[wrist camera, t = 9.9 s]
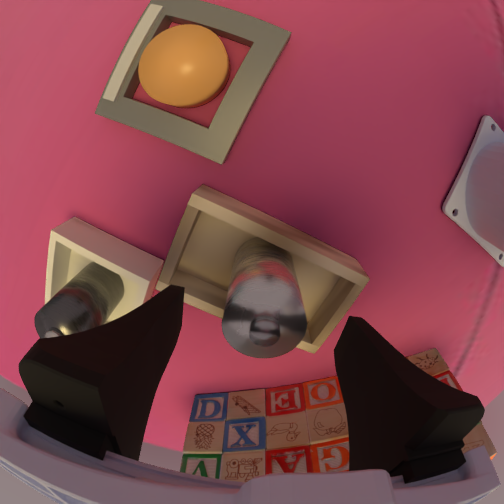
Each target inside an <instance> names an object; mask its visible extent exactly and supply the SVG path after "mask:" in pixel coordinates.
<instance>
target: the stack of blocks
mask: <svg viewBox="0 0 504 504" xmlns="http://www.w3.org/2000/svg"><path fill="white" fill-rule="evenodd" d="M406 358H407V359H408V360H409V361H411V362H412V363H413V364H415V365H416V366H417V367H419V368H420V369H422V370H423V371H425V372H426V373H428V374H429V375H431V376H433V377H434V378H436V379H438V380H439V381H441V382H443V383H445V384H447V385H449V386H451V387H454V388H456V389H458V390H461V391H463V390H462V388H461V387H460V385H459V383H458V382H457V380H456V379H455V377H454V376H453V374H452V373H451V372H450V371H449V367H448V366H447V364H446V363H445V361H444V359H443V358H442V356H441V355H440V354H439V352H438V351H437V349H436V348H433V349H430V350H427V351H424V352H421V353H418V354H415V355H412V356H409V357H406ZM189 422H190V423H189V424H188V428H187V432H186V437H185V442H184V447H183V457H182V462H181V467H180V472H182V473H187V474H192V475H197V476H203V477H209V478H215V479H222V480H229V481H237V482H248V481H249V480H251V479H252V478H254V477H257V476H262V475H267V474H272V473H326V472H345V471H349V435H348V423H347V415H346V409H345V405H344V401H343V397H342V393H341V389H340V385H339V381H338V377H337V376H332V377H329V378H324V379H319V380H314V381H308V382H304V383H300V384H294V385H287V386H281V387H274V388H268V389H256V390H248V391H238V392H230V393H214V394H201V395H195V398H194V402H193V407H192V411H191V415H190V419H189ZM463 441H464V444H465V446H464V447H463V448H461V450H462V452H463V453H465V452H467V451H468V450H471V449H474V448H477V447H479V446H482V445H484V446H485V448H486V450H487V452H488V455H489V457H490V459H491V460H492V458H493V457H494V456H495V455H496V453H497V451H496V449H495V447H494V445H493V443H492V441H491V439H490V438H489V436H488V434H487V432H486V430H485V429H484V427H483V425H482V421H481V420H480V422H479V423H478V424H477V425H476V426H475V427H474V428H473V429H472V430H471V431H470V432H469V433H468V434H467V435H466V436H465V437H464V438H463Z"/></svg>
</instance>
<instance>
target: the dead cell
mask: <svg viewBox="0 0 504 504" xmlns="http://www.w3.org/2000/svg"><path fill="white" fill-rule="evenodd" d="M123 296H124V284H123V281H122V279H121V277H120V275H119V274H117V273H115V272H113V271H111V270H109V269H107V268H105V267H103V266H101V265H99V264H98V263H96V262H91V263H89V264H88V265H87V266H86V267H84V268H83V269H82V270H81V271H80V272H79V273H78V274H77V275H76V276H74V277H73V278H72V279H71V280H70V281H69V282H68V283H67V284H66V285H65V286H64V287H63V288H62V289H61V290H60V291H58V292H57V293H56V294H55V295H54V296H53V297H52V298H51V299H50V300H49V301H48V302H47V303H46V304H45V305H44V306H43V307H42V308H41V309H40V310H39V311H38V312H37V313H36V315H35V327H36V330H37V333H38V335H39V337H40V338H49V337H57V336H64V335H69V334H73V333H78V332H82V331H85V330H89V329H91V328H94V327H97V326H100V325H103V324H104V323H105V322H106V320H107V319H108V318H109V316H110V315H111V313H112V312H113V311H114V309H115V308H116V307H117V305H118V304H119V302H120V301H121V300H122V298H123Z"/></svg>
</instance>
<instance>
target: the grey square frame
mask: <svg viewBox="0 0 504 504" xmlns="http://www.w3.org/2000/svg"><path fill="white" fill-rule="evenodd" d="M171 22H175V23H179V24H183V25H184V24H192V25H199V26H202V27H205V28H207V29H209V30H211V31H212V32H214V33H215V34H216V35H219V36H222V37H225V38H228V39H231V40H233V41H236V42H239V43H242V44H244V45H247V46H249V47H251V48H250V50H249V52H248V54H247V55H246V57H245V59H244V61H243V63H242V64H241V66H240V68H239V70H238V72H237V73H236V75H235V77H234V79H233V81H232V83H231V85H230V87H229V88H228V90H227V92H226V94H225V96H224V98H223V100H222V102H221V104H220V106H219V108H218V110H217V112H216V114H215V116H214V118H213V120H212V122H211V124H210V126H209V128H208V127H205V126H203V125H201V124H198V123H196V122H193V121H191V120H188V119H186V118H183V117H181V116H178V115H176V114H173V113H171V112H168V111H165V110H163V109H160V108H157V107H154V106H152V105H149V104H146V103H143V102H140V101H138V100H135V99H132V98H133V95H134V93H135V91H136V89H137V87H138V84H139V82H140V79H139V73H138V67H139V61H140V58H141V55H142V53H143V51H144V49H145V48H146V46H147V45H148V44H149V42H150V41H151V40H152V39H153V38H154V37H156V36H157V35H158V34H160V33H161V32H163V31H165V30H166V29H168V27H169V25H170V24H171ZM290 36H291V32H289V31H287V30H285V29H282V28H280V27H277V26H275V25H273V24H270V23H268V22H265V21H263V20H260V19H257V18H255V17H252V16H249V15H246V14H243V13H240V12H237V11H234V10H231V9H228V8H225V7H222V6H218V5H215V4H211V3H207V2H204V1H200V0H151V1H150V3H149V4H148V6H147V8H146V9H145V11H144V12H143V14H142V16H141V17H140V19H139V21H138V23H137V24H136V26H135V28H134V30H133V31H132V33H131V35H130V37H129V39H128V40H127V42H126V44H125V46H124V48H123V50H122V52H121V54H120V56H119V58H118V60H117V62H116V64H115V66H114V69H113V71H112V73H111V75H110V77H109V80H108V82H107V84H106V87H105V89H104V91H103V94H102V96H101V99H100V101H99V104H98V106H97V109H96V111H95V114H98V115H100V116H103V117H106V118H109V119H111V120H114V121H117V122H120V123H122V124H125V125H128V126H130V127H133V128H135V129H138V130H141V131H143V132H146V133H148V134H151V135H153V136H156V137H158V138H161V139H163V140H166V141H168V142H170V143H173V144H175V145H178V146H180V147H182V148H185V149H187V150H189V151H192V152H194V153H196V154H199V155H201V156H203V157H205V158H208V159H210V160H212V161H214V162H217V163H219V164H221V165H222V164H223V163H225V160H226V158H227V156H228V154H229V152H230V150H231V148H232V146H233V144H234V142H235V140H236V138H237V136H238V134H239V132H240V130H241V128H242V126H243V124H244V122H245V120H246V118H247V116H248V114H249V112H250V110H251V108H252V106H253V104H254V102H255V101H256V99H257V97H258V95H259V93H260V91H261V89H262V87H263V86H264V84H265V82H266V80H267V78H268V76H269V75H270V73H271V71H272V69H273V67H274V65H275V64H276V62H277V60H278V58H279V57H280V55H281V53H282V51H283V50H284V48H285V46H286V44H287V43H288V41H289V39H290Z"/></svg>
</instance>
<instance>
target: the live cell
mask: <svg viewBox="0 0 504 504" xmlns="http://www.w3.org/2000/svg"><path fill="white" fill-rule="evenodd" d="M306 330H307V317H306V313H305V309H304V304H303V300H302V296H301V292H300V287H299V283H298V279H297V275H296V271H295V267H294V263H293V259H292V255H291V253H290V252H289V251H287V250H285V249H282V248H280V247H278V246H276V245H274V244H272V243H270V242H268V241H266V240H263V239H261V238H259V237H254V238H251V239H249V240H247V241H246V242H244V243H243V244H242V245H241V246H240V247H239V248H238V250H237V252H236V254H235V257H234V262H233V267H232V272H231V277H230V282H229V287H228V293H227V298H226V303H225V308H224V313H223V319H222V331H223V334H224V336H225V339H226V340H227V342H228V343H229V344H230V345H231V346H232V347H233V348H234V349H236V350H237V351H239V352H240V353H242V354H245V355H247V356H251V357H256V358H273V357H277V356H281V355H283V354H286V353H288V352H289V351H291V350H293V349H294V348H295V347H296V346H297V345H298V344H299V343H300V342H301V341H302V339H303V338H304V336H305V333H306Z"/></svg>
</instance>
